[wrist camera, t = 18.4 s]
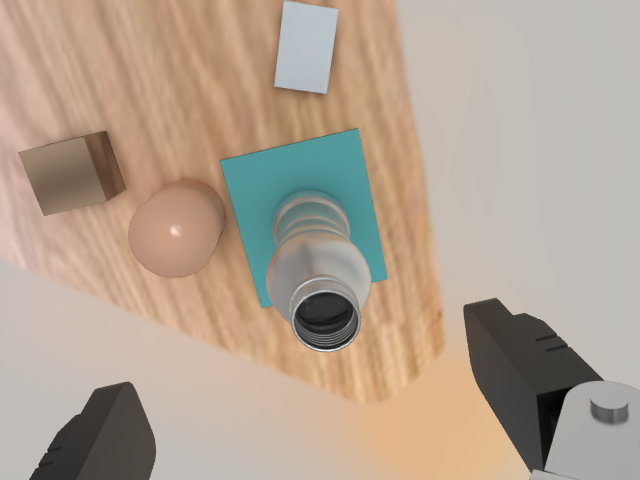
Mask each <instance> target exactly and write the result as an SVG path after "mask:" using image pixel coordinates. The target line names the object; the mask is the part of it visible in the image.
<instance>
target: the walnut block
mask: <svg viewBox="0 0 640 480" xmlns="http://www.w3.org/2000/svg"><path fill="white" fill-rule="evenodd" d="M18 153H19V155H20V158H21V160H22V163H23V165H24V168H25V170H26V173H27V175H28V178H29V180H30V183H31V185H32V188H33V190H34V193H35V195H36V198H37V200H38V203H39V205H40V208H41V210H42V213H43V215H44V216H46V215H51V214H55V213H59V212H63V211H68V210H72V209H76V208H80V207H85V206H89V205H93V204H98V203H102V202H106V201H108V200H110V199H111V198H113V197H114V196H116V195H117V194H119V193H120V192H121V191H123V190H124V189H126V187H125V184H124V181H123V178H122V176H121V173H120V170H119V167H118V164H117V161H116V158H115V155H114V152H113V150H112V147H111V144H110V141H109V138H108V135H107V132H106V131H103V132H99V133H95V134H90V135H86V136H82V137H78V138H73V139H69V140H65V141H61V142H56V143H52V144H48V145H44V146H40V147H37V148H33V149H29V150H26V151H22V152H18Z"/></svg>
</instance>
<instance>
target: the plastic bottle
mask: <svg viewBox="0 0 640 480" xmlns="http://www.w3.org/2000/svg"><path fill="white" fill-rule="evenodd" d="M271 227H272V235H273V239H274V242H275V245H276V247H277V249H276V250H275V252H274V254H273V255H272V258H271V260H270V263H269V266H268V269H267V275H266V286H267V291H268V295H269V298H270V300H271V301H272V303H273V305H274V307H275V308H276V309H277V311H278V312H279V313H280V314H281V316H282V317H283V318H284V319H285V320H287V321H288V322H289V323H290V324H291V325H292V329H293V331H294V333H295V335H296V337H297V338H298V339H299V341H300V342H301V343H303V344H304V345H305V346H307V347H308V348H310V349H312V350H315V351H319V352H333V351H338V350H340V349H343V348H345V347H346V346H348V345H349V344H350V343H351V342H352V341H353V340H354V339H355V338H356V336H357V334H358V332H359V330H360V325H361V315H360V313H361V312H362V310H363V309H364V307H365V304H366V302H367V300H368V297H369V293H370V289H371V275H370V270H369V267H368V264H367V262H366V260H365V258H364V257H363V255H362V254H361V252H360V251H359V249H358V248H357V247H356V246H355V245H354V244H353V243H352V242H351V241H350V240H349V239H350V223H349V218H348V216H347V213H346V211H345V210H344V208H343V207H342V205H341V204H340V203H339V202H338V201H337V200H336V199H334V198H333V197H331V196H330V195H328V194H325V193H323V192H320V191H316V190H303V191H298V192H296V193H293V194H291V195H290V196H288V197H287V198H286V199H284V200H283V201H282V202H281V203H280V204H279V206H278V207H277V209H276V210H275V213H274V215H273V218H272V224H271Z"/></svg>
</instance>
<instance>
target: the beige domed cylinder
mask: <svg viewBox="0 0 640 480" xmlns="http://www.w3.org/2000/svg"><path fill="white" fill-rule="evenodd" d="M225 217H226V215H225V208H224V205H223V202H222V200H221V198H220V197H219V195H218V194H217V193H216V192H215V191H214V190H213V189H212V188H211V187H210V186H208V185H207V184H205V183H203V182H200V181H197V180H192V179H181V180H176V181H173V182H171V183H169V184H167V185H166V186H164V187H163V188H162V189H161V190H160V191H158V192H157V193H156V194H155V195H154V196H153V197H152V198H150V199H149V200H148V201H147V202H146V203H145V204H143V205H142V206H141V207H140V208H139V209H138V210H137V211H136V212H135V214H134V216H133V217H132V219H131V222H130V225H129V230H128V239H129V244H130V248H131V250H132V253H133V254H134V256H135V258H136V259H137V260H138V262H139V263H140V264H141V265H142V266H143V267H145V268H146V269H147V270H149V271H151V272H152V273H154V274H157V275H159V276H162V277H167V278H181V277H186V276H189V275H192V274H194V273H196V272H197V271H199V270H200V269H202V268H203V267H204V266H205V265H206V264H207V262H208V261H209V259H210V258H211V256H212V253H213V251H214V249H215V247H216V244H217V242H218V240H219V237H220V235H221V233H222V230H223V228H224V225H225Z"/></svg>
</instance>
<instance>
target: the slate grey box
mask: <svg viewBox="0 0 640 480" xmlns="http://www.w3.org/2000/svg"><path fill="white" fill-rule="evenodd" d="M338 10H339V9H333V8H327V7H321V6H315V5H309V4H303V3H297V2H291V1H284V5H283V14H282V23H281V32H280V40H279V49H278V58H277V67H276V76H275V85H274V86H276V87H282V88H289V89H296V90H303V91H310V92H317V93H323V94H327V88H328V81H329V74H330V67H331V60H332V53H333V45H334V38H335V31H336V24H337V17H338Z"/></svg>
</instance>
